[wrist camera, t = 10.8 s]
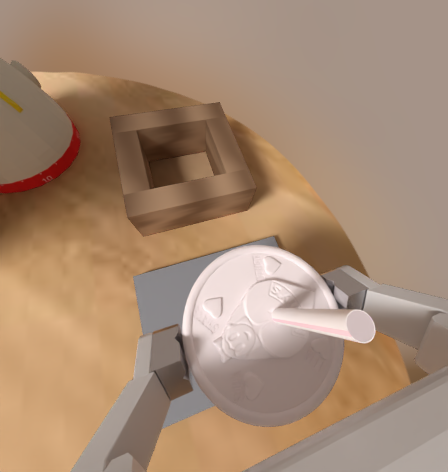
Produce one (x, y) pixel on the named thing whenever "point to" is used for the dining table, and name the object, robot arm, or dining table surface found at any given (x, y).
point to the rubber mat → (176, 315)
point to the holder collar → (172, 145)
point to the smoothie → (267, 335)
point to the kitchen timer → (31, 132)
